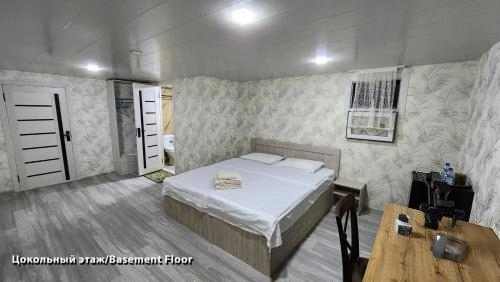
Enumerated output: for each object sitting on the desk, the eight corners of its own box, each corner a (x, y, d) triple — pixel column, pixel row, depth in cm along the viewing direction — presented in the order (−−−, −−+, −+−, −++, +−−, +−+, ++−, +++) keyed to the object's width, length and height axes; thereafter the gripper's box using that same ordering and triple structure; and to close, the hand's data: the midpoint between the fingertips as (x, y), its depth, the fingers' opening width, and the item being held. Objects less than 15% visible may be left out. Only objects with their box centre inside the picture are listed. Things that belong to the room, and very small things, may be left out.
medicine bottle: (397, 234, 130) (399, 217, 128) (394, 228, 137) (396, 211, 135) (411, 237, 127) (413, 219, 125) (407, 231, 134) (409, 213, 132)
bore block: (429, 250, 116) (430, 246, 116) (439, 235, 129) (440, 232, 129) (459, 262, 107) (460, 258, 106) (467, 245, 120) (467, 241, 119)
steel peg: (431, 255, 112) (434, 235, 110) (433, 252, 114) (436, 232, 113) (442, 260, 108) (446, 239, 106) (444, 256, 111) (447, 235, 109)
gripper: (422, 190, 122) (423, 215, 115) (467, 197, 113) (470, 225, 105) (419, 198, 130) (419, 222, 123) (460, 205, 120) (463, 232, 113)
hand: (441, 225), depth 116 cm, fingers open, 9 cm apart
